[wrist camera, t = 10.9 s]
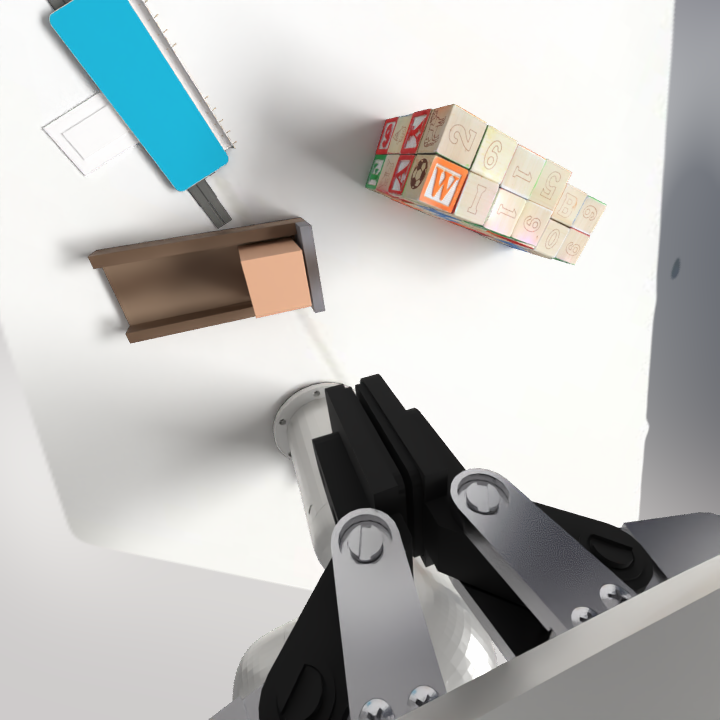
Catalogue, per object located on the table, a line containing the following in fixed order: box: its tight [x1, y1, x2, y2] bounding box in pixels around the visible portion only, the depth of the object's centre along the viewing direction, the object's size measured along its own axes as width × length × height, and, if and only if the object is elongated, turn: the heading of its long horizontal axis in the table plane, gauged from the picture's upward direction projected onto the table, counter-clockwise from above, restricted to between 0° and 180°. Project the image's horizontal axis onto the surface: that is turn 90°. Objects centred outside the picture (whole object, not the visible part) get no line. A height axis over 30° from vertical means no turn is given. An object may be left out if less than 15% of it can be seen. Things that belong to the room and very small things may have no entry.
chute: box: [88, 217, 325, 343], centre depth 33 cm, size 8×18×5 cm, turn 96°
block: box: [238, 237, 312, 318], centre depth 33 cm, size 5×5×6 cm
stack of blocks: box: [366, 104, 607, 265], centre depth 34 cm, size 21×6×12 cm, turn 70°
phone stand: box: [43, 0, 237, 228], centre depth 27 cm, size 20×12×2 cm, turn 28°
